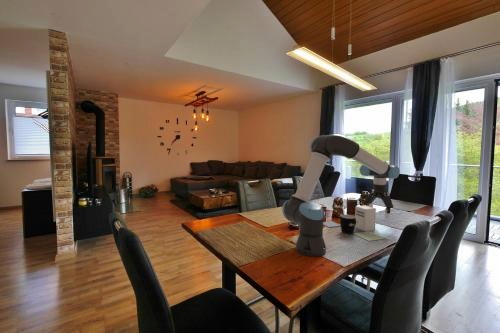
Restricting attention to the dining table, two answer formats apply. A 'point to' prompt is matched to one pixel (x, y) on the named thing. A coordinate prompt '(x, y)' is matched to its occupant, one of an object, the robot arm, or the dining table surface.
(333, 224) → the slate coaster
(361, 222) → the wall box
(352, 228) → the mug
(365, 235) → the sage coaster
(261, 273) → the dining table surface
